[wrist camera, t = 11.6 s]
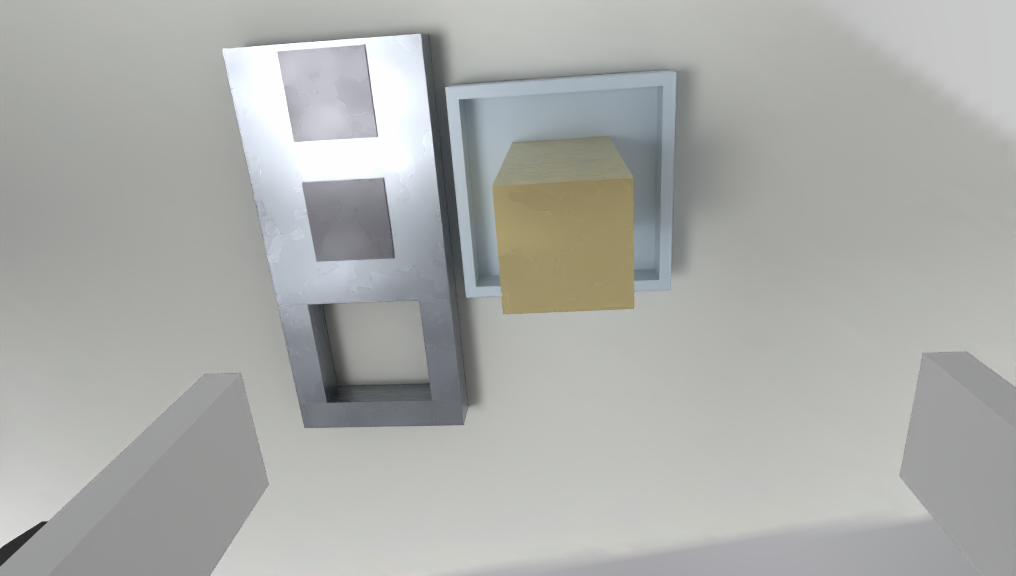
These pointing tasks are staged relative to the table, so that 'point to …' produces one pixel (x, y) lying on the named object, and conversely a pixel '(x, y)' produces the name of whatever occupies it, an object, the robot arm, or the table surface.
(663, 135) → the tray
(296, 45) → the grey slotted plate
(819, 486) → the table surface
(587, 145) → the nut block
